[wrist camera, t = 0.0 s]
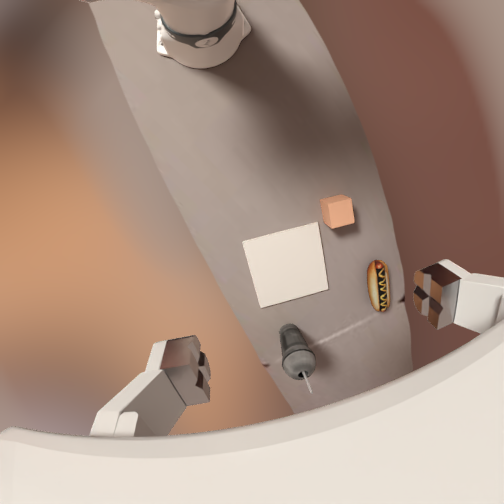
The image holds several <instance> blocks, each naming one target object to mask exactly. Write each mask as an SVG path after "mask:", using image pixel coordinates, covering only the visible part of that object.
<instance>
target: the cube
mask: <svg viewBox="0 0 504 504" xmlns="http://www.w3.org/2000/svg"><path fill="white" fill-rule="evenodd" d="M320 203H321V209H322V214H323V220H324V223H325V224H327V225H328V226H329V227H330V228H332V229H333V228H337V227H341V226H344V225H348V224H352V223H355V221H354V214H353V207H352V200H351V198H349V197H347V196H344V195H337V196H333V197H329V198H325V199H320Z"/></svg>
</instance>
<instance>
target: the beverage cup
mask: <svg viewBox="0 0 504 504" xmlns="http://www.w3.org/2000/svg"><path fill="white" fill-rule="evenodd" d="M280 342H281V349H282V356H283V358H282V367H283V369H284V371H285V372H286V374H287V375H288V376H289V377H291V378H293V379H296V380H302V379H305V380H306V383H307V385H308V388H309V390H310V393H313V391H312V389H311V386H310V384H309V381H308V379H307V378H308V377H309V376H310V375H312V373H313V372H314V370H315V366H316V358H315V355H314V353H313V352H312V351H311V350H310V349H309V347H308V346H307V344H306V342H305V340H304V338H303V337H302V335H301V333H300V331H299V330H298V328H297V327H296V326H295V325H294V324H286V325H284V326H283V327H282V328H281V329H280Z"/></svg>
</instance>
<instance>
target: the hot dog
mask: <svg viewBox="0 0 504 504" xmlns="http://www.w3.org/2000/svg"><path fill="white" fill-rule="evenodd" d="M367 284H368V292H369V296H370V300H371V304H372V306H373V307H374V309H375V310H376V311H382V312H383V311H385V310H386V309H387V308H388V307H389V305H390V289H389V276H388V268H387V265H386V264H385V263H384V262H383V261H382V260H374V261H373V262H371V263H370V265H369V267H368V270H367Z"/></svg>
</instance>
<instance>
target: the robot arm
mask: <svg viewBox="0 0 504 504" xmlns="http://www.w3.org/2000/svg"><path fill="white" fill-rule="evenodd" d="M80 1H84V2H88V3H91V2H97V1H103V0H80ZM135 1H140V2H144V3H148V4H151V5H153V6H155V7H156V8H157V10H155V18H156V19H157V20H158V24H157V52H158V53H159V54H160V55H163V56H167V57H171V58H173V59H175V60H176V61H178V62H179V63H181V64H182V65H185V66H187V67H191V68H209V67H213V66H216V65H219V64H221V63H223V62H225V61H226V60H228V59H229V58H230V57H231V56H232V55H233V54H234V53H235V52H236V50H237V48H238V46H239V44H240V42H241V40H242V39H243V38H244V37H245V36H247V35H248V34H249V33H250V31H251V26H250V24H249V23H248V21H247V20H246V18H245V16H244V15H243V13H242V11H241V10H240V8H239V7H238V5H237V3H236V0H135ZM162 44H163V46H162ZM414 283H415V284H416V285H417V286H416V288H415V290H414V292H413V293H414V294H413V300H414V304H415V307H416V309H417V310H418V311H419V312H420V314H422V315H425V316H428V322H429V323H430V324H432V325H433V326H434V327H435V328H436V329H437V330H438V329H440V328H443V327H445V326H447V325H449V324H451V323H453V322H454V323H455V324H457V325H460V326H462V327H465V328H468V329H470V330H473V331H476V332H478V333H480V334H481V335H479V336H478V337H476V338H474V339H473V340H471V341H470V342H468V343H466V344H465V345H463V346H461V347H459V348H458V349H456V350H454V351H452V352H451V353H449V354H447V355H445V356H443V357H441V358H439V359H438V360H435V361H434V362H432V363H430V364H428V365H426V366H424V367H422V368H420V369H418V370H415V371H413V372H411V373H409V374H407V375H404V376H402V377H400V378H398V379H396V380H393V381H391V382H389V383H386V384H384V385H381V386H379V387H376V388H374V389H371V390H369V391H366V392H364V393H361V394H358V395H355V396H353V397H350V398H347V399H344V400H341V401H338V402H335V403H332V404H329V405H326V406H323V407H319V408H316V409H313V410H309V411H306V412H302V413H298V414H295V415H291V416H287V417H283V418H279V419H275V420H270V421H265V422H261V423H256V424H251V425H246V426H241V427H234V428H228V429H223V430H215V431H208V432H200V433H191V434H180V435H168V434H169V432H170V431H171V429H172V428H173V426H174V425H175V423H176V422H177V420H178V419H179V418H180V416H181V415H182V413H183V412H184V410H185V409H186V406H189V405H196V404H202V403H207V402H210V387H209V385H208V383H207V382H208V381H209V380H210V367H209V363H208V360H207V357H206V355H205V354H204V353H203V352H201V351H200V346H201V345H200V342H199V340H198V338H197V337H196V336H195V335H192V336H187V337H182V338H176V339H171V340H165V341H160V342H156V343H154V344H153V348H152V351H151V354H150V357H149V361H148V364H147V367H146V371H145V372H142V373H140V374H139V375H138V376H137V377H136V378H135V379H134V380H133V381H131V383H129V384H128V385H127V386H126V387H125V388H124V389H123V390H122V391H120V392H119V393H118V394H117V395H116V396H115V397H114V398H113V399H112V400H110V401H109V402H108V403H107V404H106V405H105V406H104V407H103V408H102V409H100V410H99V411H98V413H97V416H96V418H95V421H94V424H93V426H92V429H91V432H90V435H89V436H82V435H71V434H61V433H53V432H45V431H38V430H33V429H27V428H23V427H16V426H14V427H9V428H8V429H6V430H4V431H2V432H1V433H0V504H504V278H502V277H496V276H490V275H483V274H477V273H473V274H470V273H469V272H467V271H466V270H464V269H463V268H461V267H459V266H458V265H456V264H455V263H453V262H451V261H450V260H448V259H444V260H442V261H440V262H437V263H435V264H433V265H431V266H428V267H426V268H423V269H421V270H419V271H416V272H415V274H414ZM167 435H168V436H167Z"/></svg>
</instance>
